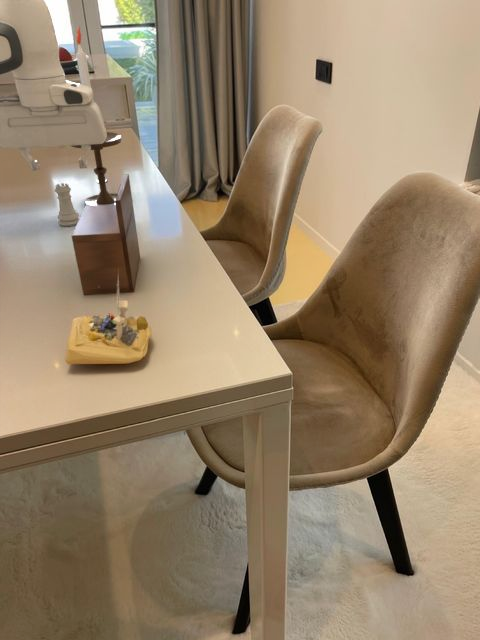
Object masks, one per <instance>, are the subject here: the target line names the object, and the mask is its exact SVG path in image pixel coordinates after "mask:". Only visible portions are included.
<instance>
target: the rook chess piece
mask: <svg viewBox="0 0 480 640" xmlns="http://www.w3.org/2000/svg"><path fill="white" fill-rule="evenodd" d="M54 186H55V188H54V193H56V195H57V196H56V199H58V207H59V211H58V215H57V219H58V222H57V223H58V224H59V225H60V226H61V227H74V226H76V225H77V223H78V221H79V219H80V214H79V213H78V212H77V210H76V209H75V207H74V204H73V202H72V195H71V191H72V188H71V187H70V186H69V183H66V182H65V183H64V182H62V183H61V184H60V183H57V184H55V185H54Z"/></svg>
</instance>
